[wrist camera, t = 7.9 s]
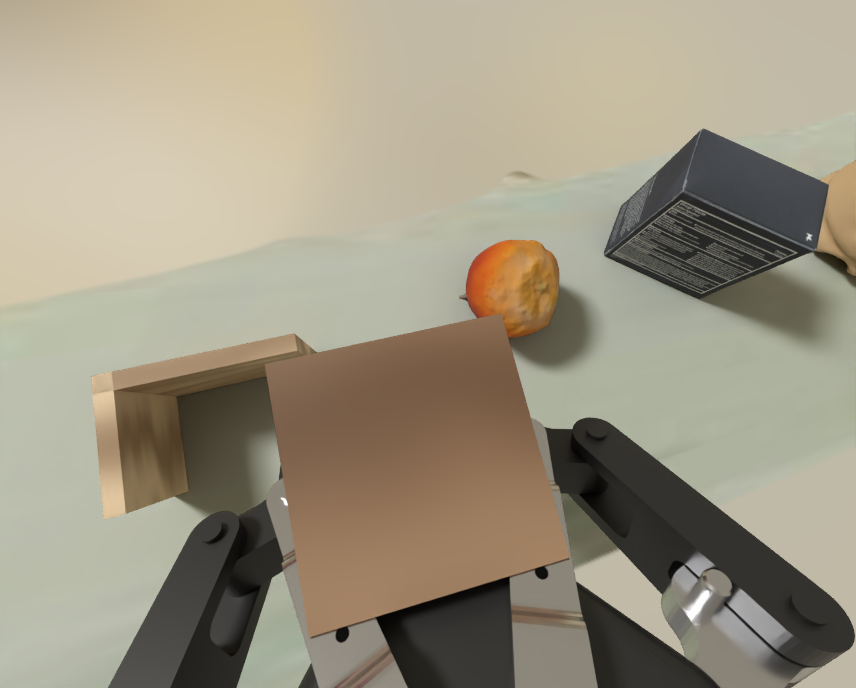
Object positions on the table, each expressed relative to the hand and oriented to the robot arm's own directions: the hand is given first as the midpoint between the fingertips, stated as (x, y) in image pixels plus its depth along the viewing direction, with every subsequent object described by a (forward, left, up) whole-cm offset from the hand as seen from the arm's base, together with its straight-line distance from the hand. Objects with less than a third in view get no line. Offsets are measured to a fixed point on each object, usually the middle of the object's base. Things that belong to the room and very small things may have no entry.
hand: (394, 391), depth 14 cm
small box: (+21, +22, -18) cm, 35 cm away
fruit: (+7, +12, -18) cm, 23 cm away
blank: (+1, -2, -5) cm, 6 cm away
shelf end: (-11, -4, -18) cm, 21 cm away
